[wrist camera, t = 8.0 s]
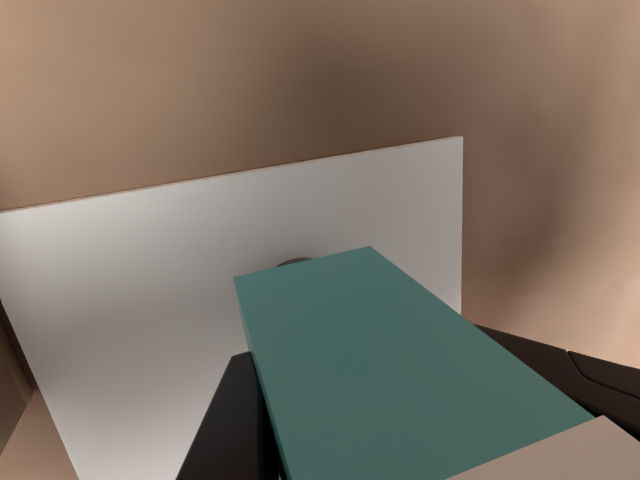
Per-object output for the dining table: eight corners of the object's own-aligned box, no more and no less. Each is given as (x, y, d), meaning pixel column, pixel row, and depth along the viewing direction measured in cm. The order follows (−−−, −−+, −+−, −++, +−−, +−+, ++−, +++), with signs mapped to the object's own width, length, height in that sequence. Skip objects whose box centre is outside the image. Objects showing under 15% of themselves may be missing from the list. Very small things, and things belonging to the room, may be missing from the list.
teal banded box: (361, 336, 12) (648, 708, 5) (248, 368, 11) (378, 887, 4) (352, 228, 11) (715, 498, 3) (225, 256, 10) (345, 689, 3)
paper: (454, 520, 17) (459, 527, 17) (158, 650, 14) (158, 662, 14) (456, 135, 12) (464, 136, 11) (-28, 216, 9) (-36, 220, 8)
